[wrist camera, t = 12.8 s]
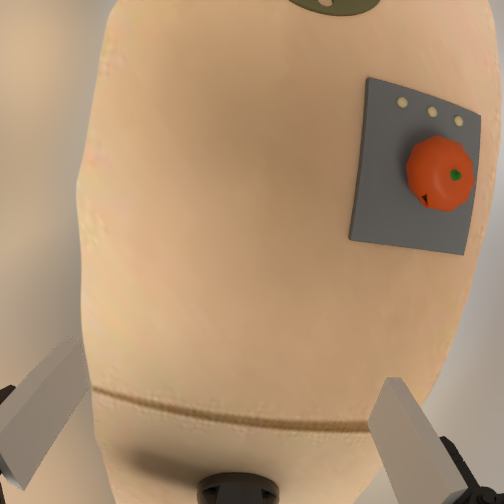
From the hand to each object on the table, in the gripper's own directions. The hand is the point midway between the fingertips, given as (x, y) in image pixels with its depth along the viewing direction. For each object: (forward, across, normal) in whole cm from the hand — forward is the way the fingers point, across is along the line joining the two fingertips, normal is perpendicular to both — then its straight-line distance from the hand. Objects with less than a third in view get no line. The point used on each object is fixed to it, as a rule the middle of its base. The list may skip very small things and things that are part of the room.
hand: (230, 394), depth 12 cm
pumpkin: (+22, -19, -12) cm, 31 cm away
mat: (+23, -19, -12) cm, 32 cm away
